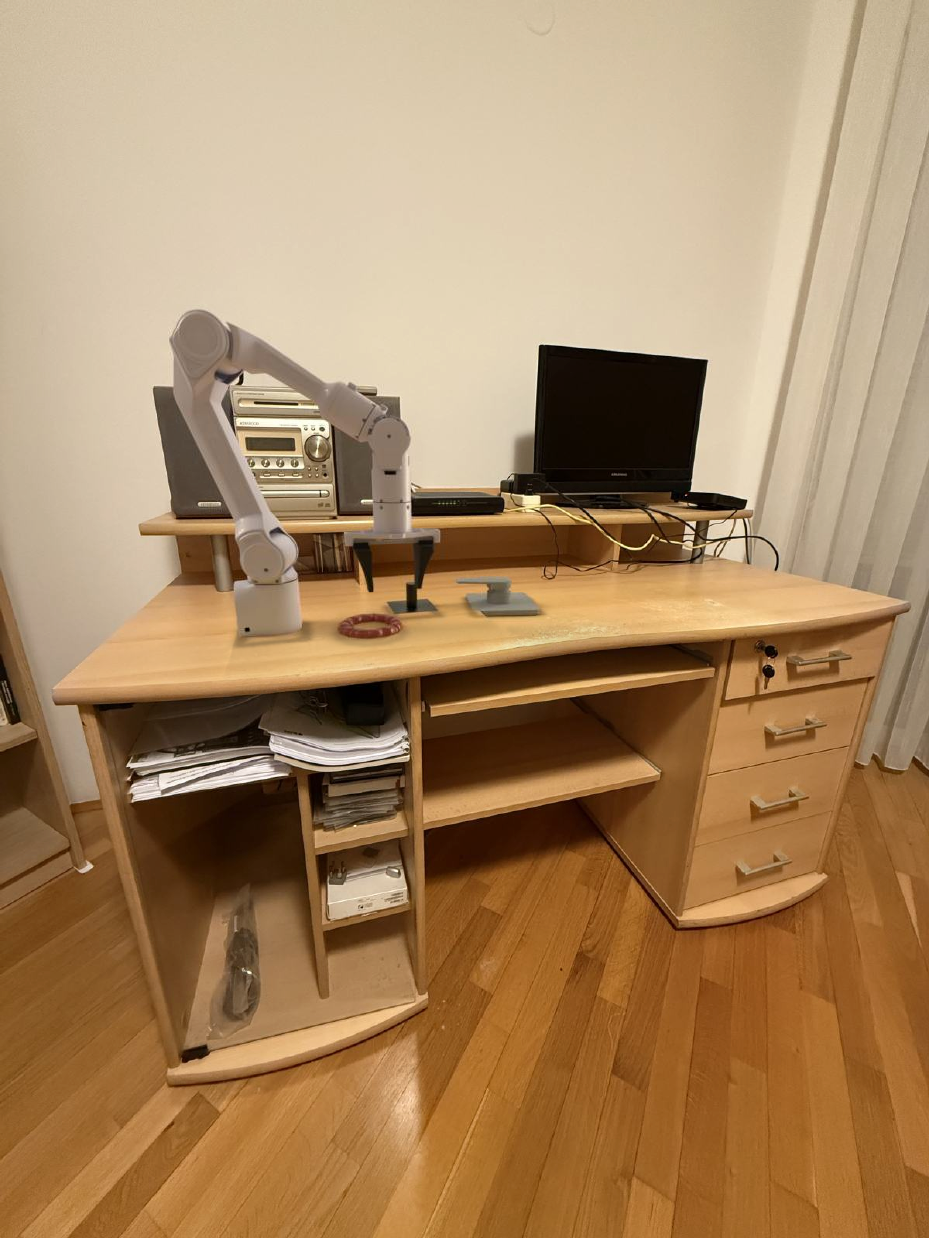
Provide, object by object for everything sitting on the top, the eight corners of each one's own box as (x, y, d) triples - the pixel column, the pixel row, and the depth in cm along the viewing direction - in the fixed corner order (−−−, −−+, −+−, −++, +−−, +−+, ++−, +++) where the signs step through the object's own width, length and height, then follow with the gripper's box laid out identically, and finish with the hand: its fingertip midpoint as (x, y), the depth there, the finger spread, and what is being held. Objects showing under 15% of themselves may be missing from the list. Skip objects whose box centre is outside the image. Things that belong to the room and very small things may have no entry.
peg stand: (394, 619, 86) (393, 590, 84) (386, 606, 93) (385, 579, 91) (438, 615, 88) (438, 587, 87) (427, 603, 95) (427, 577, 94)
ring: (342, 647, 73) (341, 634, 72) (336, 626, 82) (335, 614, 81) (408, 640, 76) (408, 628, 75) (395, 621, 85) (395, 610, 84)
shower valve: (452, 571, 98) (525, 570, 100) (452, 597, 99) (524, 596, 101) (459, 587, 86) (542, 585, 88) (459, 616, 88) (540, 614, 90)
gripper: (345, 504, 68) (351, 599, 72) (445, 503, 72) (445, 592, 76) (340, 500, 74) (346, 587, 78) (433, 499, 79) (433, 581, 83)
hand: (394, 589), depth 78 cm, fingers open, 7 cm apart
